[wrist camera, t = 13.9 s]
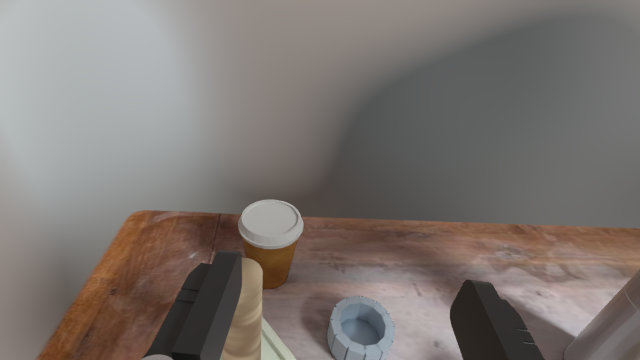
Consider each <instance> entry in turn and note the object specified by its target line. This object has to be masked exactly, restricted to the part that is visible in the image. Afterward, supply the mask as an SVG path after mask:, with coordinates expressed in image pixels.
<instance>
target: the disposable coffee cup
mask: <svg viewBox="0 0 640 360" xmlns="http://www.w3.org/2000/svg"><path fill="white" fill-rule="evenodd" d="M303 225H304V224H303V220H302V218H301V215H300V213H299V211H298V210H297V209H296V208H294V206H293V205H291V204H289V203H287V202H284V201H279V200H262V201H258V202H255V203H253V204H251V205H249V206H248V207H247V208H246V209H245V210H244V211H243V213H242V216H241V217H240V219H239V222H238V229H239V232H240V234H241V235H242V237H243V242H244V248H245V253H246V258H249V259H252V260H254V261H256V262H257V263H258V264H259V265H260V266H261V268H262V271H263V284H262V288H263V289H273V288H277V287H279V286H281V285H282V284H283V283H284V282H285V281H286V279H287V277H288V273H289V269H290V266H291V262H292V259H293V255H294V251H295V248H296V244H297V240H298V237H299V236H300V235H301V233H302V231H303Z"/></svg>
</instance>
